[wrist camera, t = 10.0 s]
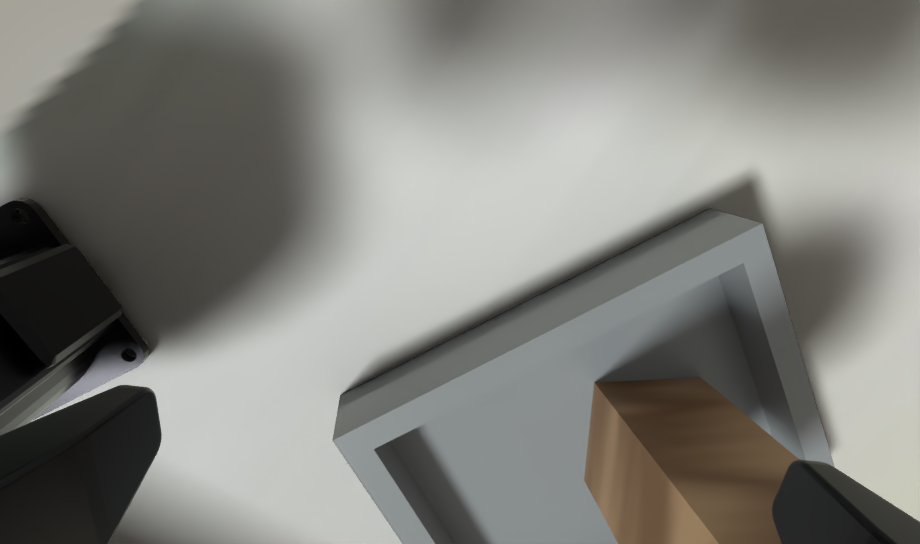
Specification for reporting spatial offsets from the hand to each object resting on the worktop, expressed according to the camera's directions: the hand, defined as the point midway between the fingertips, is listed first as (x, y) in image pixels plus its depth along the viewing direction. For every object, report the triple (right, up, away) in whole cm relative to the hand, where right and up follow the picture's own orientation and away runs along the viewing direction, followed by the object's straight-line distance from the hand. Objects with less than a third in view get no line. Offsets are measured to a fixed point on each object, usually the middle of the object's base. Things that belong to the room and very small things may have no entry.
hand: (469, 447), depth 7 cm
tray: (+5, -5, +15) cm, 17 cm away
